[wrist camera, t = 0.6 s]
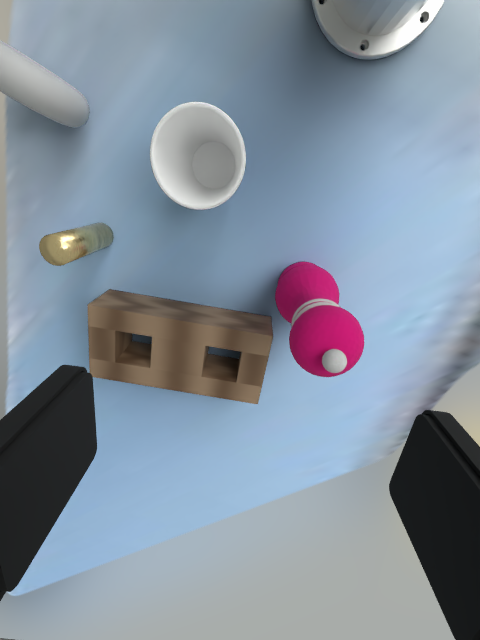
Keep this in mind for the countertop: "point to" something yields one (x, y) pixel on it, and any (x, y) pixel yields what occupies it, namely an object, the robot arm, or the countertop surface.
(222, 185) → the dixie cup
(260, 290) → the countertop surface
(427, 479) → the robot arm
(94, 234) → the brass peg
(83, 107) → the donut
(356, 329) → the pepper mill
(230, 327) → the hole block
